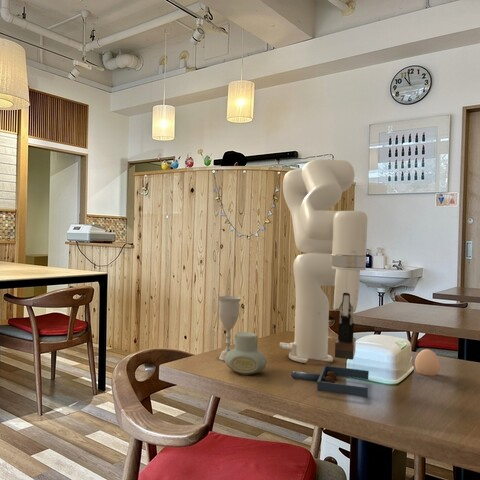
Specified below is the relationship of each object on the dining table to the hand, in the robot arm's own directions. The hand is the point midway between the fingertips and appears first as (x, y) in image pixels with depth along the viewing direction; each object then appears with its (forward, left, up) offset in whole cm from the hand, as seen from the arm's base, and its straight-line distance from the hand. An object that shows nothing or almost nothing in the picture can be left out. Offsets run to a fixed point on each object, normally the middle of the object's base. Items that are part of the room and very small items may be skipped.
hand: (345, 339), depth 115 cm
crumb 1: (-3, +3, -10) cm, 11 cm away
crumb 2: (-3, -2, -10) cm, 11 cm away
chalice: (-33, +15, -12) cm, 38 cm away
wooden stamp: (0, 0, -4) cm, 4 cm away
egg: (+19, +22, -12) cm, 31 cm away
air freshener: (-25, +4, -12) cm, 28 cm away
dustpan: (-4, 0, -12) cm, 13 cm away
